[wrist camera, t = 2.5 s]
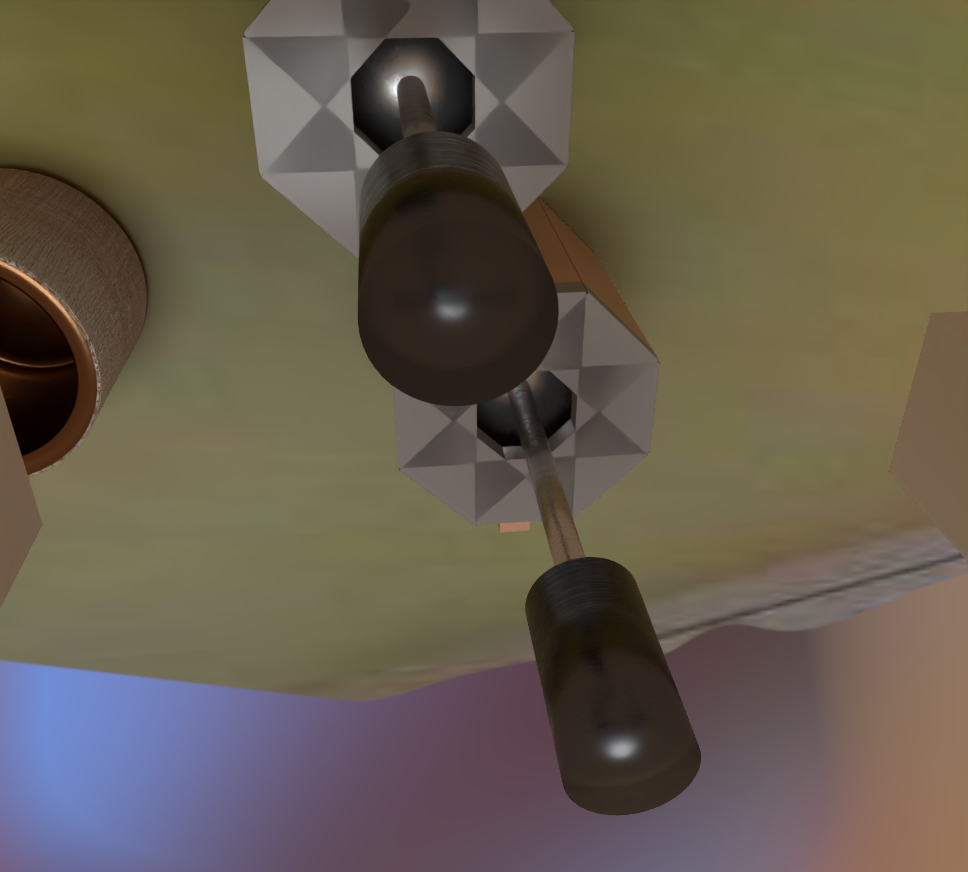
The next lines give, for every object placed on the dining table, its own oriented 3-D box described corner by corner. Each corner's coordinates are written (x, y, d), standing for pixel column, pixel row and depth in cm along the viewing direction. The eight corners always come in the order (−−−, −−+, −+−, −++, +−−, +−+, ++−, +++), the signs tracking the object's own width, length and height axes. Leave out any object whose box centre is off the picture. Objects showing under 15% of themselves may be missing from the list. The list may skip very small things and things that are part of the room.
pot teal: (257, -163, 36) (215, -177, 26) (523, -162, 37) (584, -175, 27) (293, 169, 42) (270, 262, 32) (517, 162, 43) (564, 251, 33)
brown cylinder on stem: (418, 299, 37) (464, 662, 20) (616, 290, 37) (822, 633, 20) (425, 467, 41) (468, 886, 24) (603, 457, 41) (765, 855, 25)
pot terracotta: (382, 200, 44) (388, 300, 33) (598, 193, 45) (668, 288, 34) (396, 432, 50) (404, 574, 40) (584, 421, 51) (638, 557, 41)
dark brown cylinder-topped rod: (281, -40, 30) (175, 73, 13) (526, -42, 31) (720, 61, 14) (306, 203, 34) (249, 524, 17) (520, 196, 35) (666, 497, 18)
